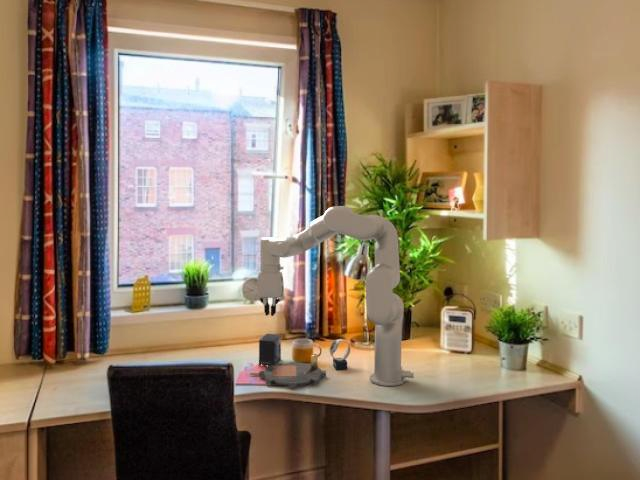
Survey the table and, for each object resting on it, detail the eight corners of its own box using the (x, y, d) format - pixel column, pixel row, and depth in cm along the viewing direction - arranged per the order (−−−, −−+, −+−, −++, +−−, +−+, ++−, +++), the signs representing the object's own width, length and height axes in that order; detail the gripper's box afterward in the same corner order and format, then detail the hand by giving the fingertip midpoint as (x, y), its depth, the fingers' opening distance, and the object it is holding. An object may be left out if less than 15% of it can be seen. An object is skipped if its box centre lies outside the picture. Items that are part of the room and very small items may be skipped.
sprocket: (293, 362, 219) (293, 345, 218) (339, 376, 203) (339, 357, 202) (245, 377, 201) (245, 358, 201) (292, 393, 185) (292, 372, 184)
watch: (328, 366, 216) (328, 338, 215) (348, 365, 217) (348, 337, 217) (331, 370, 210) (331, 342, 210) (351, 369, 212) (351, 341, 211)
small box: (274, 367, 214) (274, 340, 213) (258, 366, 216) (258, 339, 215) (281, 359, 225) (281, 334, 224) (266, 358, 226) (266, 333, 225)
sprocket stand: (309, 374, 206) (309, 371, 206) (303, 383, 196) (303, 380, 196) (254, 370, 210) (254, 367, 210) (246, 379, 200) (246, 376, 200)
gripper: (291, 268, 219) (291, 314, 221) (253, 266, 222) (253, 312, 223) (287, 270, 212) (287, 318, 213) (247, 269, 215) (248, 316, 216)
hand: (270, 314), depth 218 cm, fingers closed
